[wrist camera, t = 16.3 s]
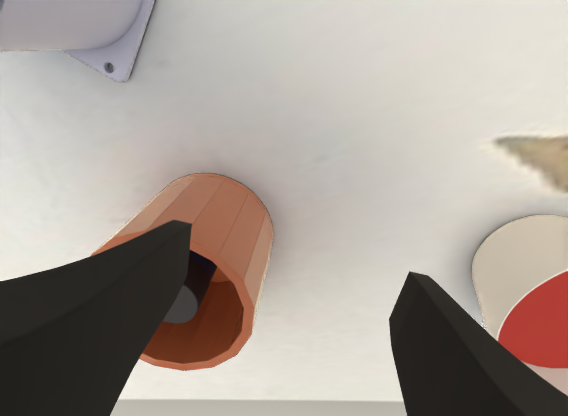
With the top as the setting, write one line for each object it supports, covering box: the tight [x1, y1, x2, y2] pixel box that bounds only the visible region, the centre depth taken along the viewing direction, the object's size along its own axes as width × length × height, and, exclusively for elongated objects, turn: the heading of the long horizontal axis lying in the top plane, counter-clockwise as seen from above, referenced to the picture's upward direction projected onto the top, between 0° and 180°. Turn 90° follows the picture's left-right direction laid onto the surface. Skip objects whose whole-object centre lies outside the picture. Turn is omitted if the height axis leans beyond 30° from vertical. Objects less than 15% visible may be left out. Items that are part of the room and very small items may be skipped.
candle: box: [472, 214, 568, 396], centre depth 19 cm, size 9×9×6 cm
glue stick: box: [163, 250, 217, 324], centre depth 20 cm, size 3×3×6 cm
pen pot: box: [91, 173, 274, 371], centre depth 20 cm, size 8×8×8 cm
